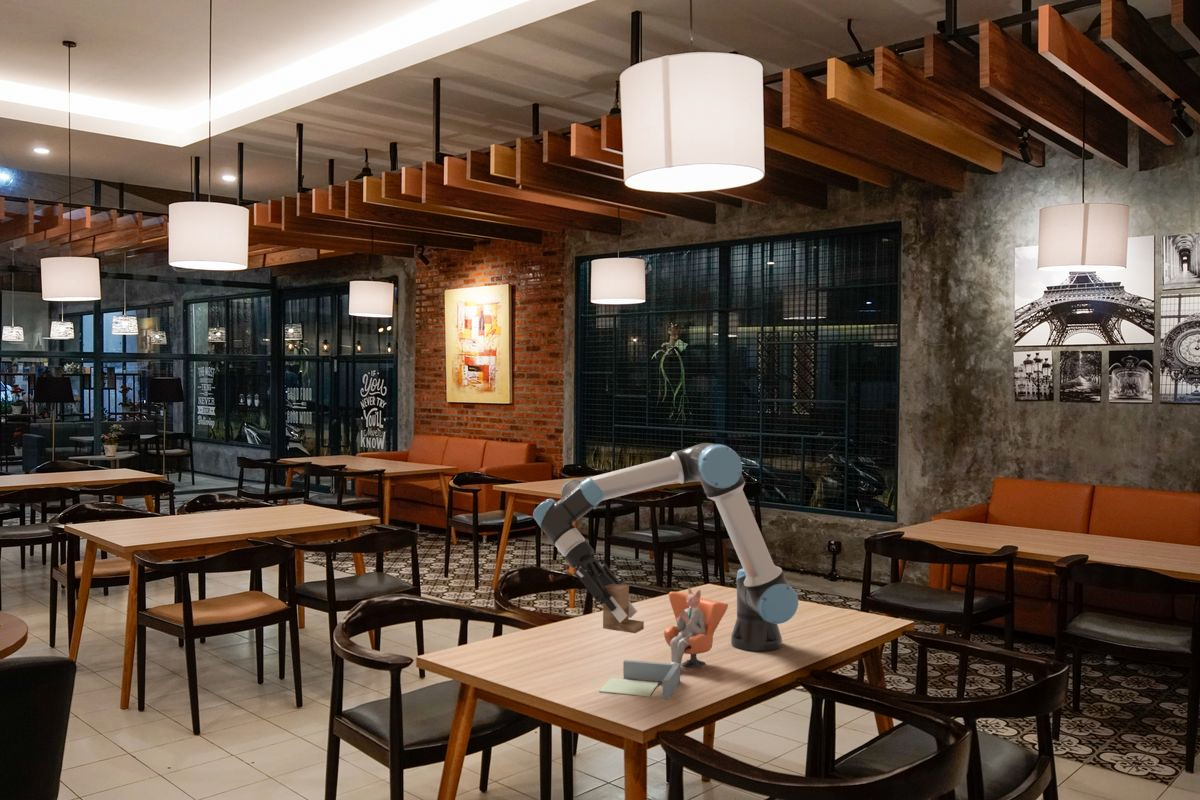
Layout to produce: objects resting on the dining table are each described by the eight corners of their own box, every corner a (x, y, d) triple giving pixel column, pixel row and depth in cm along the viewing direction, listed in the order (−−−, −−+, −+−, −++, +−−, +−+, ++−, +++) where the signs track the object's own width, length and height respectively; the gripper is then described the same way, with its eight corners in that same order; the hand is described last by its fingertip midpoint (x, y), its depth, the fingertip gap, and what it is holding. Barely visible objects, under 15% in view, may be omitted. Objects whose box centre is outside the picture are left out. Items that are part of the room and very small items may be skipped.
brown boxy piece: (643, 629, 243) (644, 587, 243) (635, 633, 239) (635, 590, 239) (611, 624, 248) (612, 583, 248) (602, 628, 244) (603, 586, 243)
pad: (658, 683, 241) (658, 682, 241) (649, 696, 230) (649, 695, 230) (610, 679, 244) (610, 678, 244) (599, 692, 234) (599, 690, 234)
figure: (635, 664, 258) (635, 588, 258) (681, 652, 270) (681, 579, 270) (691, 682, 241) (691, 601, 241) (738, 669, 253) (737, 592, 253)
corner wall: (680, 681, 242) (680, 664, 242) (668, 698, 229) (668, 680, 229) (624, 676, 247) (624, 659, 247) (610, 693, 233) (610, 675, 233)
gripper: (583, 553, 260) (635, 618, 252) (549, 563, 244) (603, 633, 236) (599, 535, 257) (652, 601, 249) (566, 544, 241) (622, 615, 233)
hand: (628, 616), depth 243 cm, fingers closed on brown boxy piece, 5 cm apart
